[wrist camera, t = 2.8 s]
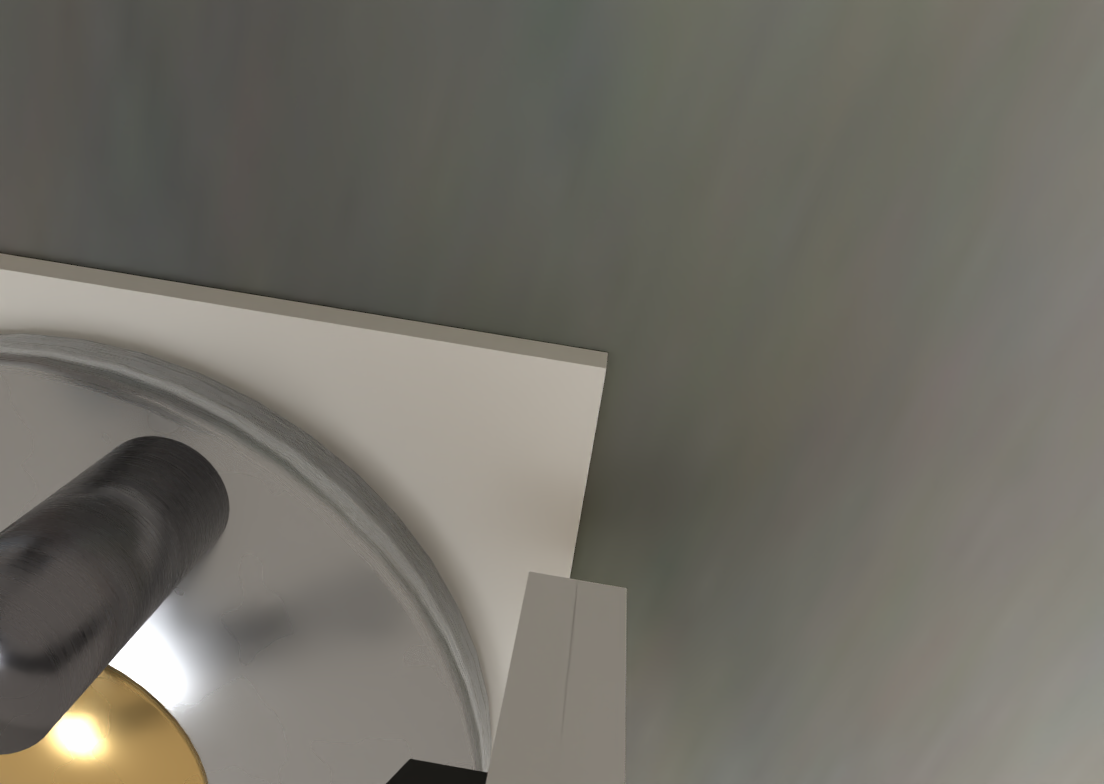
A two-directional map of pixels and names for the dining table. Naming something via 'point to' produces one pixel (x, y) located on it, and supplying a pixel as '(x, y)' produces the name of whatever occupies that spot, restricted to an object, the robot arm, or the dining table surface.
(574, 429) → the base plate
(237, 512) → the turntable
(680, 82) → the dining table surface
